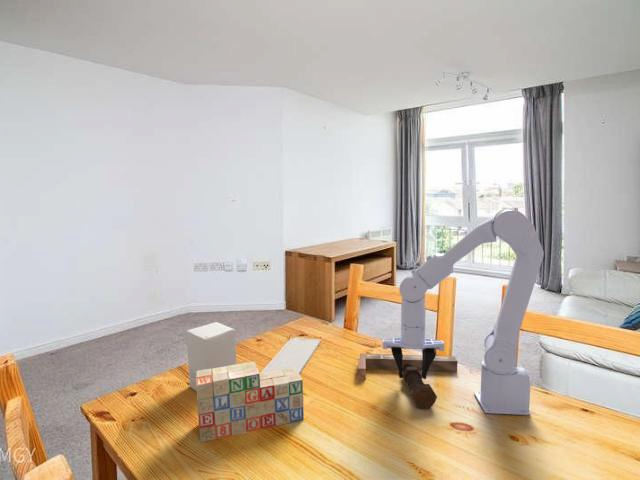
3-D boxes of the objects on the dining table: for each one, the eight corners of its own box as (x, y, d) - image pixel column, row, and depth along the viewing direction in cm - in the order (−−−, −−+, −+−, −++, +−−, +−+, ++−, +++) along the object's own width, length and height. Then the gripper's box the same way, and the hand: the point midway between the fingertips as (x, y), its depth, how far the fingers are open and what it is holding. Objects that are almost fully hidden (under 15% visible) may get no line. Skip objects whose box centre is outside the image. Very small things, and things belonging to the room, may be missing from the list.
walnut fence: (454, 366, 101) (454, 355, 101) (463, 383, 92) (463, 371, 92) (358, 363, 104) (358, 353, 104) (358, 379, 95) (357, 368, 95)
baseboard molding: (244, 388, 93) (288, 394, 90) (243, 377, 92) (288, 383, 89) (286, 340, 123) (321, 344, 119) (286, 332, 122) (321, 335, 119)
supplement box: (239, 385, 93) (236, 328, 91) (207, 400, 87) (203, 339, 85) (220, 373, 99) (217, 320, 98) (188, 386, 93) (185, 330, 91)
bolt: (410, 382, 97) (428, 414, 82) (393, 373, 96) (408, 404, 81) (421, 363, 96) (441, 392, 81) (404, 354, 96) (421, 382, 81)
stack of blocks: (296, 405, 84) (295, 354, 83) (304, 421, 78) (302, 366, 77) (199, 424, 78) (195, 369, 76) (199, 443, 72) (195, 384, 70)
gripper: (440, 318, 92) (438, 369, 94) (381, 317, 93) (381, 367, 95) (446, 328, 85) (445, 384, 87) (383, 327, 86) (383, 381, 88)
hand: (412, 376), depth 90 cm, fingers open, 5 cm apart
